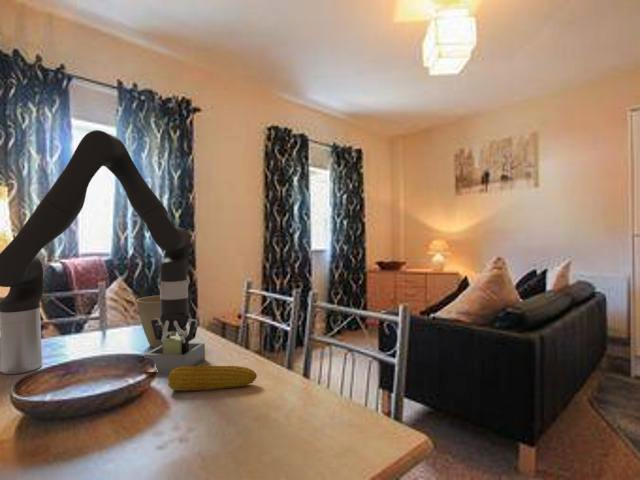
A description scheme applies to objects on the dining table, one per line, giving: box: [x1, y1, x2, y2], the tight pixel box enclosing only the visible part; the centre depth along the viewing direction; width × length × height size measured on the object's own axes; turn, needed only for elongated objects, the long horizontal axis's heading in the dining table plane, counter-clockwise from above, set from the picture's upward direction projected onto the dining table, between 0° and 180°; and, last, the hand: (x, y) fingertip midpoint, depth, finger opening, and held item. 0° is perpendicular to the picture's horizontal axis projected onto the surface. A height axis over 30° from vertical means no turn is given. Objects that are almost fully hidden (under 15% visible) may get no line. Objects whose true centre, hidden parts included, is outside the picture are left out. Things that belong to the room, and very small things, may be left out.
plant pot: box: [136, 294, 178, 348], centre depth 135 cm, size 15×15×16 cm
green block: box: [163, 335, 182, 355], centre depth 113 cm, size 5×5×5 cm
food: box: [167, 365, 258, 392], centre depth 98 cm, size 21×6×6 cm, turn 99°
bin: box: [143, 342, 206, 375], centre depth 114 cm, size 12×12×5 cm
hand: (175, 354), depth 114 cm, fingers closed on green block, 4 cm apart
